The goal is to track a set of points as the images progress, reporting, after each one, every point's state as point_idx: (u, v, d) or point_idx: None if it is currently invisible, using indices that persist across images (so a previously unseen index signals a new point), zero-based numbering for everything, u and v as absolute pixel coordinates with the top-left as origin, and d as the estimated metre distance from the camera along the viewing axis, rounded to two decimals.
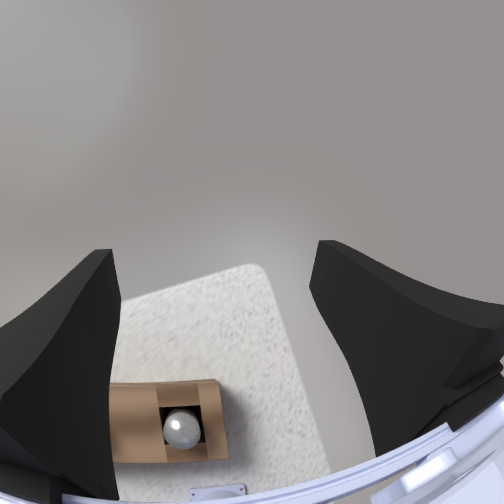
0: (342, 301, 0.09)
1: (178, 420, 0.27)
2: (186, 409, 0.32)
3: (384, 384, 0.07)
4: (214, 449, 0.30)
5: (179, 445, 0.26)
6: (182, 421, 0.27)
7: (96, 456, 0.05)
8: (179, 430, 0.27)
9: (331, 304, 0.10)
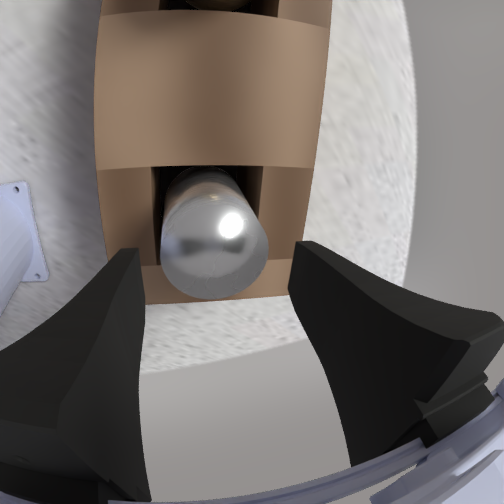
0: (317, 304, 0.09)
1: (257, 250, 0.11)
2: None
3: (357, 393, 0.07)
4: None
5: (173, 246, 0.10)
6: (251, 260, 0.11)
7: (133, 458, 0.05)
8: (223, 249, 0.11)
9: (307, 307, 0.10)
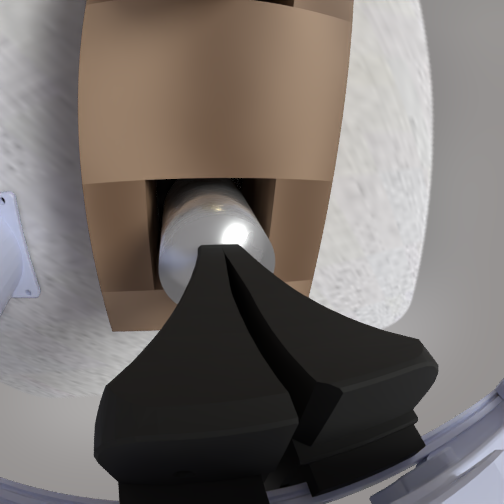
0: None
1: (263, 264, 0.10)
2: None
3: None
4: (135, 305, 0.13)
5: (172, 261, 0.10)
6: None
7: None
8: None
9: None
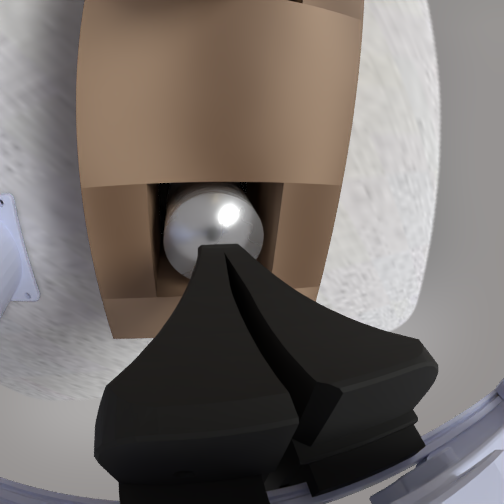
0: None
1: (253, 236, 0.12)
2: None
3: None
4: (136, 312, 0.12)
5: (175, 232, 0.11)
6: (247, 246, 0.12)
7: None
8: (221, 235, 0.12)
9: None
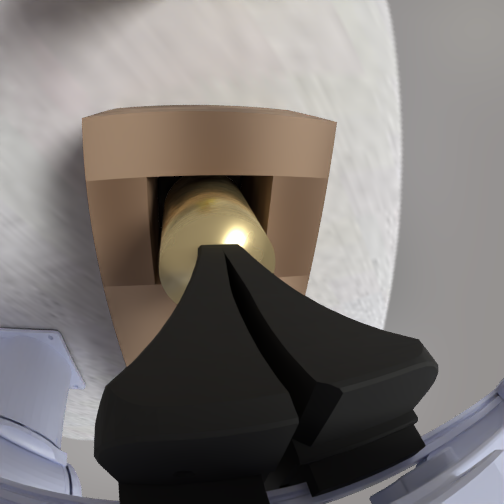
0: None
1: None
2: None
3: None
4: None
5: None
6: None
7: None
8: None
9: None
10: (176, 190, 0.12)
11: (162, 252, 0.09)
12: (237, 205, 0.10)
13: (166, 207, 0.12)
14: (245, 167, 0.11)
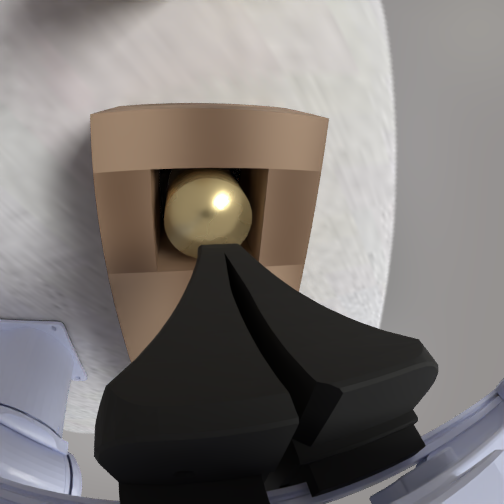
0: None
1: None
2: None
3: None
4: None
5: None
6: None
7: None
8: None
9: None
10: None
11: (167, 205, 0.13)
12: (223, 173, 0.14)
13: (170, 179, 0.16)
14: (242, 160, 0.12)
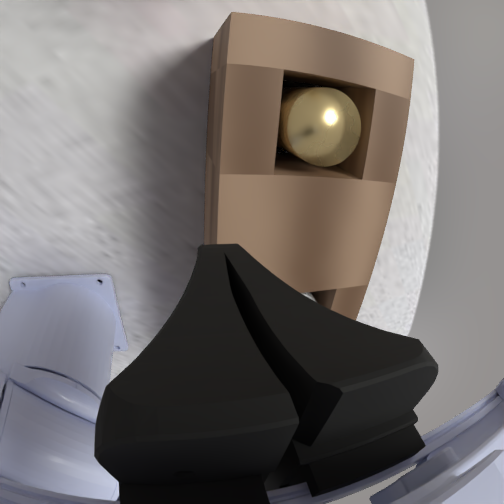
0: None
1: None
2: None
3: None
4: None
5: None
6: None
7: None
8: None
9: None
10: None
11: (292, 107, 0.12)
12: None
13: None
14: (358, 77, 0.12)
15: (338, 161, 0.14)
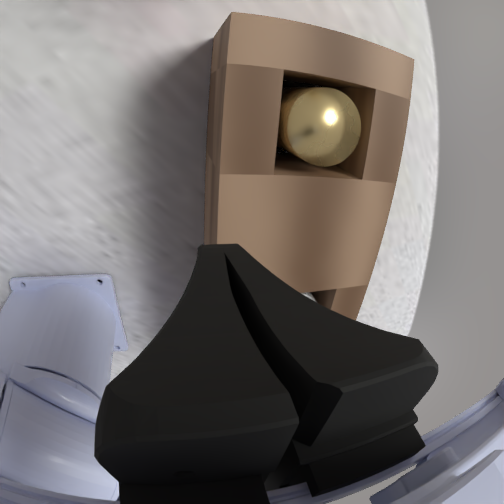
0: None
1: None
2: None
3: None
4: None
5: None
6: None
7: None
8: None
9: None
10: None
11: (292, 107, 0.12)
12: None
13: None
14: (358, 77, 0.12)
15: (338, 161, 0.14)
